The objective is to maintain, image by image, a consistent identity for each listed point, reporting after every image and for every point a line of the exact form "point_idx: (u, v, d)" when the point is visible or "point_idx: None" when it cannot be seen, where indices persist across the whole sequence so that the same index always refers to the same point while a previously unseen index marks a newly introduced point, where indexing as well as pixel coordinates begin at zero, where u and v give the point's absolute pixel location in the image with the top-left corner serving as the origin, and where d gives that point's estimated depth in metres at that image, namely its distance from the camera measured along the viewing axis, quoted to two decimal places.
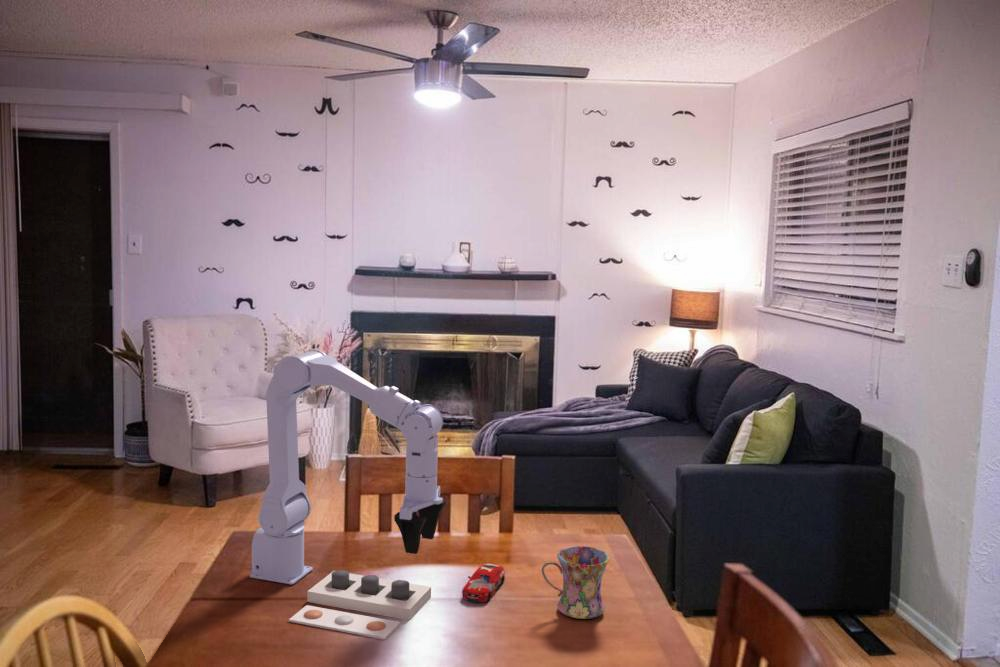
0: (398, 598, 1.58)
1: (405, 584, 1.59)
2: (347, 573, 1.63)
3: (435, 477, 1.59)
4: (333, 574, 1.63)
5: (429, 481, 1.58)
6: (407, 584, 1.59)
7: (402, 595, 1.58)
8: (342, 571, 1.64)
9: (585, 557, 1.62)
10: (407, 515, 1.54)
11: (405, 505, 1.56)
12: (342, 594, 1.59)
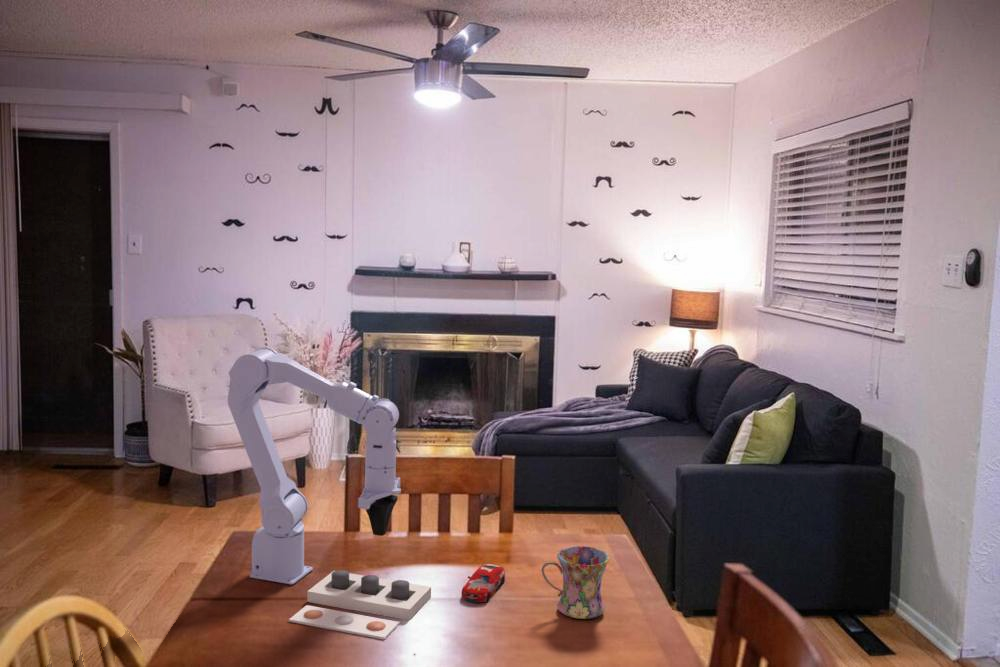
0: (398, 598, 1.58)
1: (405, 584, 1.59)
2: (347, 573, 1.63)
3: (393, 468, 1.66)
4: (333, 574, 1.63)
5: (387, 472, 1.65)
6: (407, 584, 1.59)
7: (402, 595, 1.58)
8: (342, 571, 1.64)
9: (585, 557, 1.62)
10: (365, 505, 1.61)
11: (364, 495, 1.63)
12: (342, 594, 1.59)
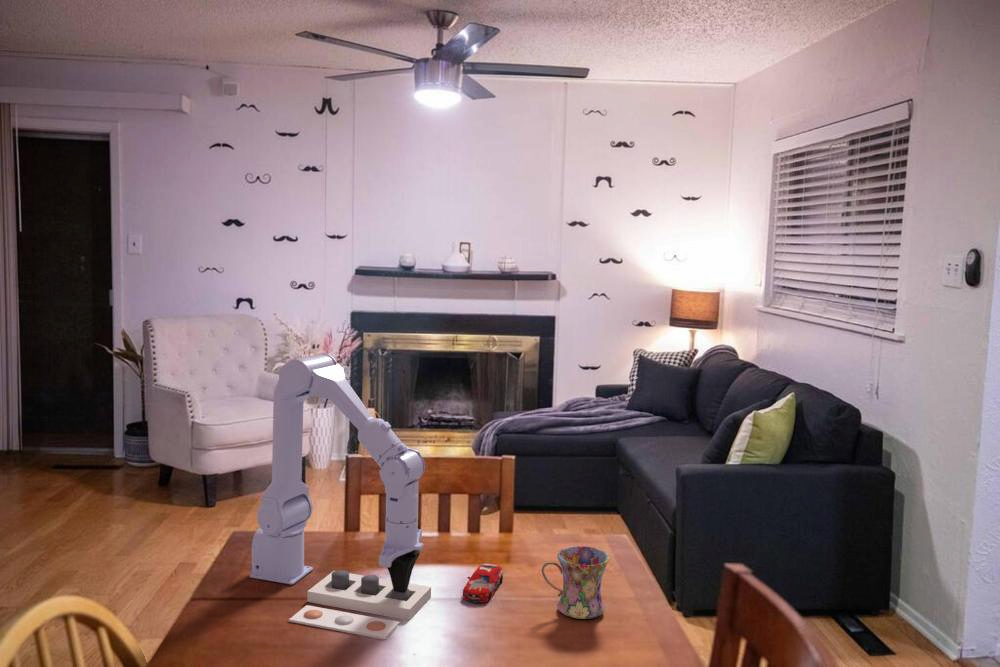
0: None
1: None
2: (347, 573, 1.63)
3: (415, 522, 1.57)
4: (333, 574, 1.63)
5: (409, 527, 1.56)
6: (407, 590, 1.60)
7: None
8: (342, 571, 1.64)
9: (585, 557, 1.62)
10: (386, 563, 1.52)
11: (385, 552, 1.54)
12: (342, 594, 1.59)
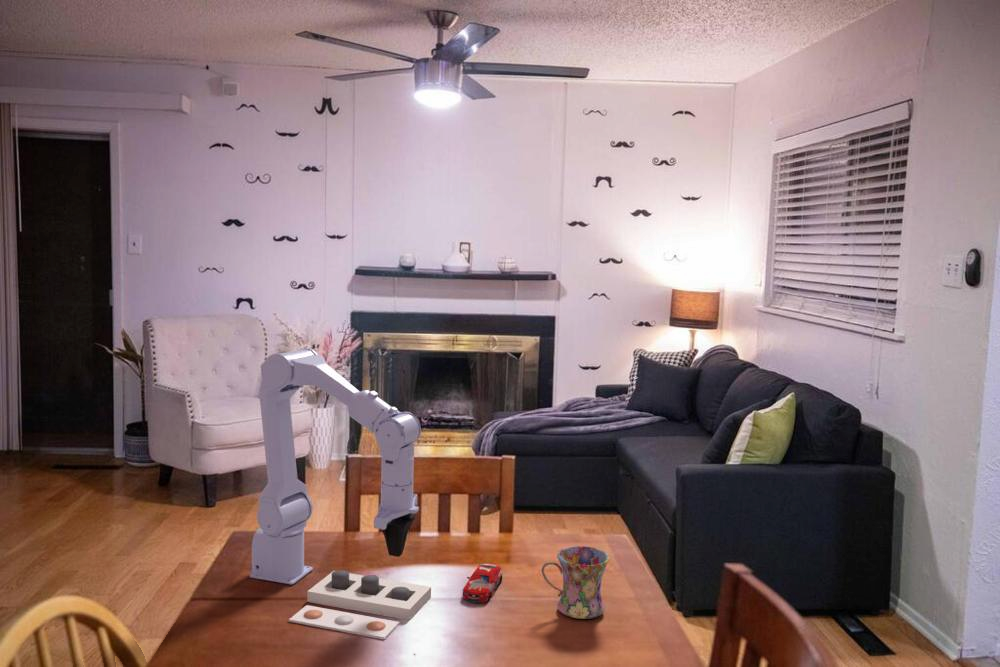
0: None
1: (405, 591, 1.59)
2: (347, 573, 1.63)
3: (411, 486, 1.56)
4: (333, 574, 1.63)
5: (405, 490, 1.55)
6: (407, 590, 1.60)
7: None
8: (342, 571, 1.64)
9: (585, 557, 1.62)
10: (381, 525, 1.51)
11: (380, 514, 1.54)
12: (342, 594, 1.59)
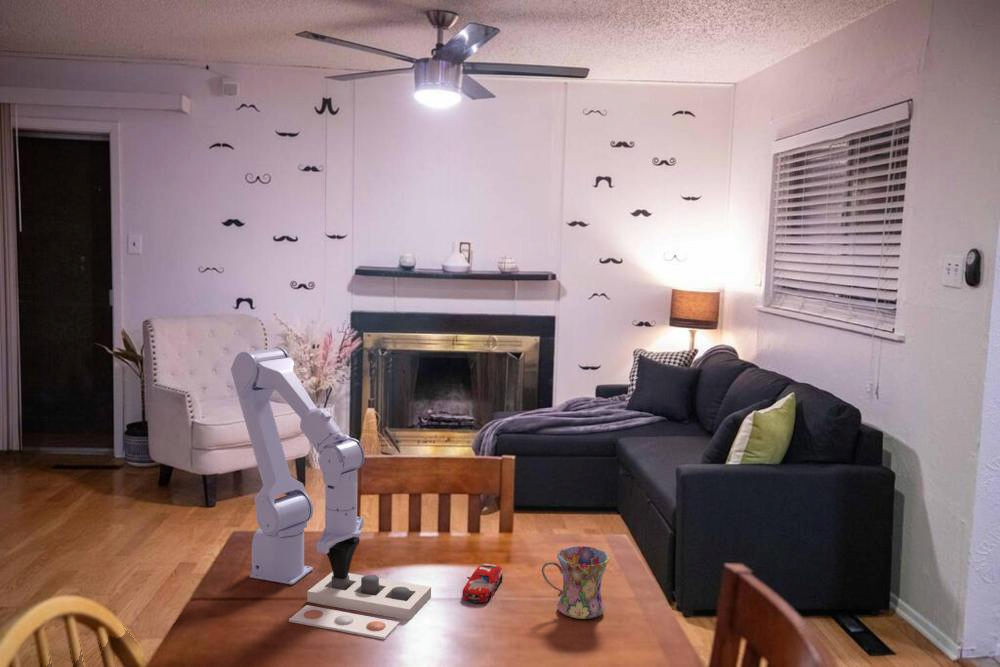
0: None
1: (405, 591, 1.59)
2: (347, 576, 1.63)
3: (354, 510, 1.60)
4: (333, 577, 1.63)
5: (348, 514, 1.59)
6: (407, 590, 1.60)
7: None
8: None
9: (585, 557, 1.62)
10: (324, 549, 1.55)
11: (323, 538, 1.58)
12: (342, 594, 1.59)
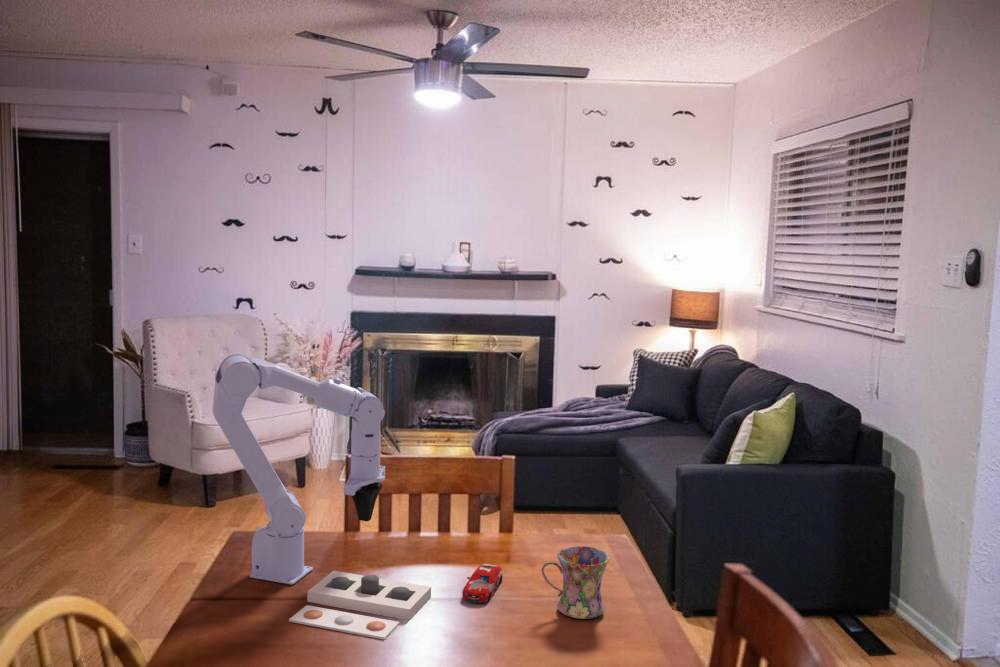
0: None
1: (405, 591, 1.59)
2: (347, 580, 1.63)
3: (378, 457, 1.73)
4: (333, 581, 1.63)
5: (372, 461, 1.72)
6: (407, 590, 1.60)
7: None
8: (342, 578, 1.64)
9: (585, 557, 1.62)
10: (350, 491, 1.68)
11: (349, 482, 1.71)
12: (342, 594, 1.59)
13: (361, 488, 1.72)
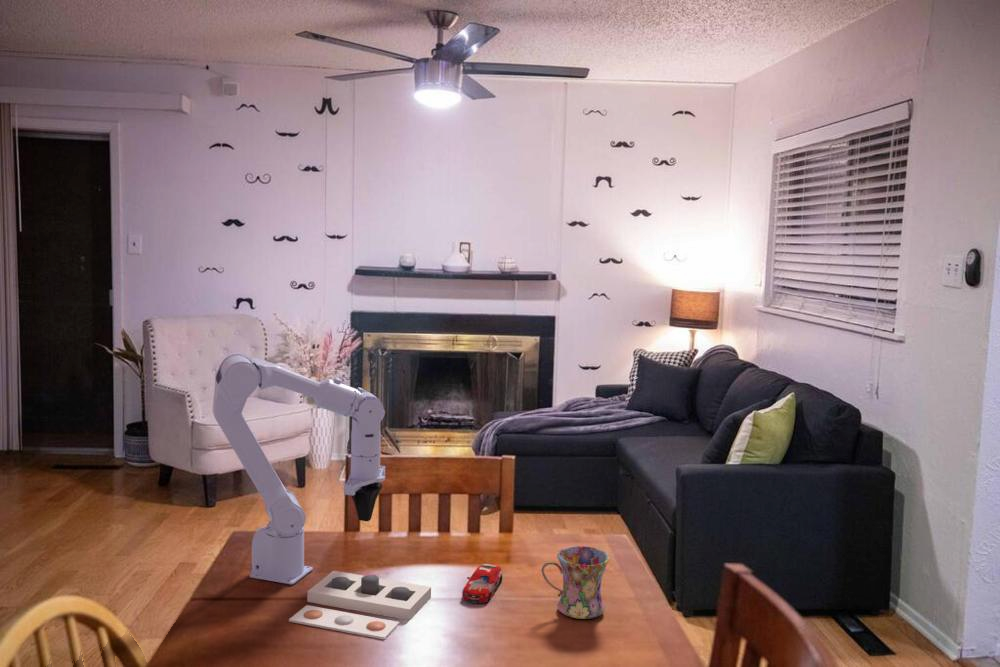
0: None
1: (405, 591, 1.59)
2: (347, 580, 1.63)
3: (378, 457, 1.73)
4: (333, 581, 1.63)
5: (372, 461, 1.72)
6: (407, 590, 1.60)
7: None
8: (342, 578, 1.64)
9: (585, 557, 1.62)
10: (350, 491, 1.68)
11: (349, 482, 1.71)
12: (342, 594, 1.59)
13: (361, 488, 1.73)
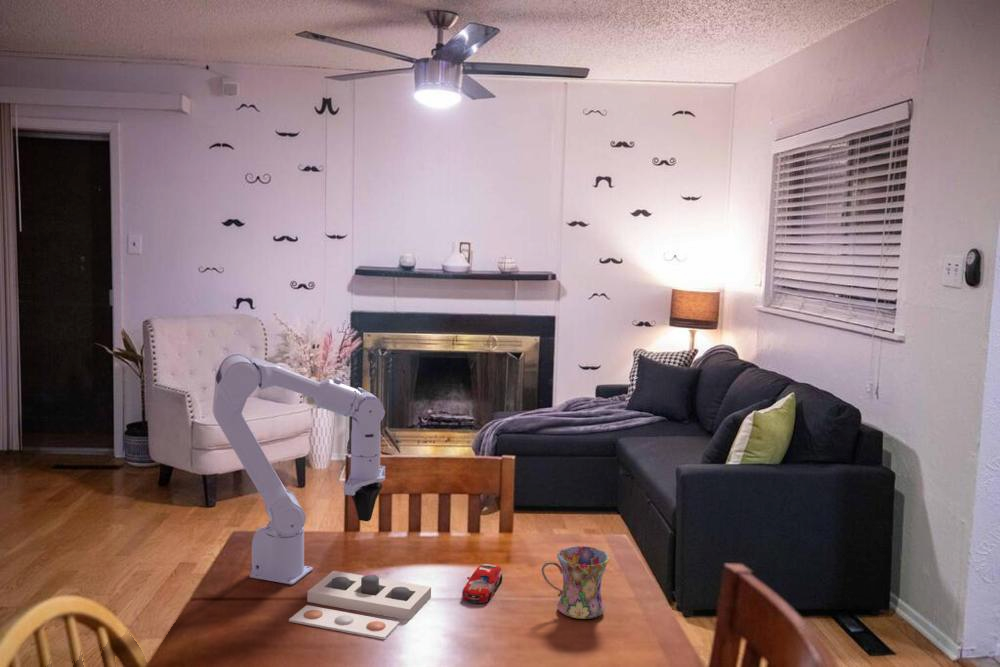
0: None
1: (405, 591, 1.59)
2: (347, 580, 1.63)
3: (378, 457, 1.73)
4: (333, 581, 1.63)
5: (372, 461, 1.72)
6: (407, 590, 1.60)
7: None
8: (342, 578, 1.64)
9: (585, 557, 1.62)
10: (350, 491, 1.68)
11: (349, 482, 1.71)
12: (342, 594, 1.59)
13: (361, 488, 1.73)
